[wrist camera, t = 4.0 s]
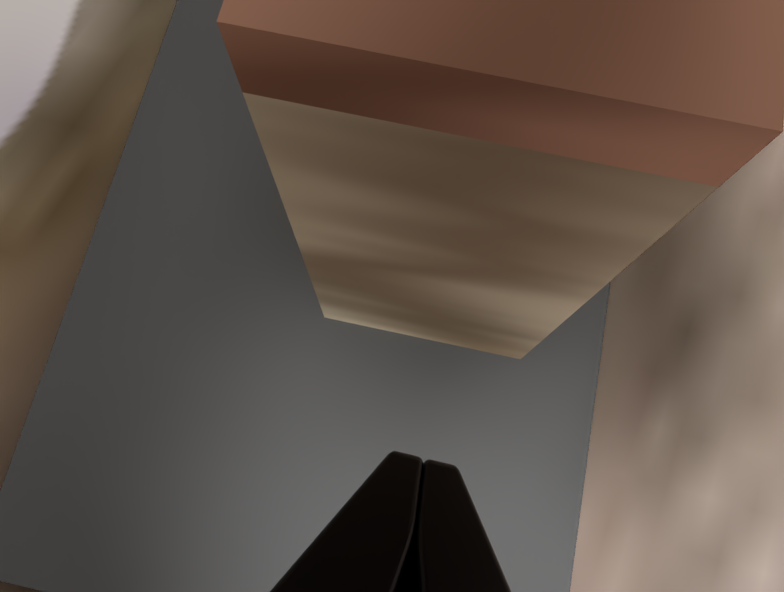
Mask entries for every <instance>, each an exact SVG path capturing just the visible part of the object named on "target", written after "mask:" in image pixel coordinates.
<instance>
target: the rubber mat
mask: <svg viewBox="0 0 784 592" xmlns="http://www.w3.org/2000/svg"><path fill="white" fill-rule="evenodd" d="M223 1H224V0H177V3H176V6H175V9H174V12H173V14H172V17H171V20H170V23H169V25H168V28H167V31H166V34H165V36H164V39H163V42H162V45H161V47H160V50H159V53H158V56H157V59H156V61H155V64H154V67H153V70H152V72H151V75H150V78H149V81H148V83H147V86H146V89H145V92H144V95H143V97H142V100H141V103H140V106H139V108H138V111H137V114H136V117H135V119H134V122H133V125H132V128H131V131H130V133H129V136H128V139H127V142H126V144H125V147H124V150H123V153H122V155H121V158H120V161H119V164H118V167H117V169H116V172H115V175H114V178H113V180H112V183H111V186H110V189H109V191H108V194H107V197H106V200H105V202H104V205H103V208H102V211H101V214H100V216H99V219H98V222H97V225H96V227H95V230H94V233H93V236H92V238H91V241H90V244H89V247H88V250H87V252H86V255H85V258H84V261H83V263H82V266H81V269H80V272H79V274H78V277H77V280H76V283H75V286H74V288H73V291H72V294H71V297H70V299H69V302H68V305H67V308H66V310H65V313H64V316H63V319H62V322H61V324H60V327H59V330H58V333H57V335H56V338H55V341H54V344H53V346H52V349H51V352H50V355H49V357H48V360H47V363H46V366H45V369H44V371H43V374H42V377H41V380H40V382H39V385H38V388H37V391H36V393H35V396H34V399H33V402H32V405H31V407H30V410H29V413H28V416H27V418H26V421H25V424H24V427H23V429H22V432H21V435H20V438H19V441H18V443H17V446H16V449H15V452H14V454H13V457H12V460H11V463H10V465H9V468H8V471H7V474H6V477H5V479H4V482H3V485H2V488H1V490H0V581H1V582H5V583H10V584H14V585H18V586H22V587H26V588H31V589H35V590H39V591H43V592H270V591H271V589H272V588H273V587H274V586H275V585H276V584H277V582H278V581H279V580H280V579H281V578H282V577H283V576H284V574H285V573H286V572H287V571H288V570H289V569H290V567H291V566H292V565H293V564H294V563H295V562H296V560H297V559H298V558H299V557H300V556H301V555H302V553H303V552H304V551H305V550H306V549H307V548H308V546H309V545H310V544H311V543H312V542H313V541H314V539H315V538H316V537H317V536H318V535H319V534H320V533H321V531H322V530H323V529H324V528H325V527H326V526H327V524H328V523H329V522H330V521H331V520H332V519H333V517H334V516H335V515H336V514H337V513H338V512H339V510H340V509H341V508H342V507H343V506H344V505H345V503H346V502H347V501H348V500H349V499H350V498H351V496H352V495H353V494H354V493H355V492H356V491H357V490H358V488H359V487H360V486H361V485H362V484H363V483H364V481H365V480H366V479H367V478H368V477H369V476H370V474H371V473H372V472H373V471H374V470H375V469H376V467H377V466H378V465H379V464H380V463H381V462H382V460H383V459H384V458H385V457H386V456H387V455H388V454H389V453H390V452H392V451H398V452H402V453H406V454H411V455H415V456H418V457H420V458H421V459H422V461H423V463H424V462H425V461H426V460H428V459H431V460H435V461H439V462H443V463H448V464H452V465H455V466H456V467H457V468H458V469H459V471H460V473H461V475H462V478H463V480H464V482H465V485H466V487H467V489H468V492H469V494H470V496H471V499H472V501H473V503H474V506H475V508H476V510H477V513H478V515H479V517H480V520H481V522H482V524H483V527H484V529H485V531H486V534H487V536H488V538H489V541H490V543H491V545H492V548H493V550H494V552H495V555H496V557H497V559H498V562H499V564H500V566H501V569H502V571H503V573H504V576H505V578H506V580H507V583H508V585H509V587H510V590H511V592H570V586H571V578H572V571H573V563H574V556H575V548H576V540H577V533H578V525H579V517H580V510H581V502H582V495H583V487H584V479H585V472H586V464H587V456H588V449H589V441H590V434H591V426H592V418H593V411H594V403H595V395H596V388H597V380H598V373H599V365H600V357H601V350H602V342H603V334H604V327H605V319H606V312H607V304H608V296H609V289H610V282H609V283H608V284H607V285H605V286H604V287H603V288H602V289H601V290H600V291H598V292H597V293H596V294H595V295H594V296H593V297H592V298H590V299H589V300H588V301H587V302H586V303H585V304H584V305H582V306H581V307H580V308H579V309H578V310H577V311H575V312H574V313H573V314H572V315H571V316H570V317H569V318H567V319H566V320H565V321H564V322H563V323H562V324H560V325H559V326H558V327H557V328H556V329H555V330H554V331H552V332H551V333H550V334H549V335H548V336H547V337H546V338H544V339H543V340H542V341H541V342H540V343H539V344H537V345H536V346H535V347H534V348H533V349H532V350H531V351H529V352H528V353H527V354H526V355H525V356H524V357H523V358H521V359H517V358H512V357H507V356H503V355H498V354H493V353H489V352H484V351H479V350H475V349H470V348H465V347H460V346H456V345H451V344H446V343H442V342H437V341H432V340H428V339H423V338H418V337H414V336H409V335H404V334H400V333H395V332H390V331H386V330H381V329H376V328H372V327H367V326H362V325H357V324H353V323H348V322H343V321H339V320H334V319H329V318H325V317H324V315H323V312H322V309H321V306H320V304H319V301H318V298H317V295H316V293H315V290H314V287H313V285H312V282H311V279H310V276H309V274H308V271H307V268H306V265H305V263H304V260H303V257H302V254H301V252H300V249H299V246H298V243H297V241H296V238H295V235H294V232H293V230H292V227H291V224H290V221H289V219H288V216H287V213H286V210H285V208H284V205H283V202H282V200H281V197H280V194H279V191H278V189H277V186H276V183H275V180H274V178H273V175H272V172H271V169H270V167H269V164H268V161H267V158H266V156H265V153H264V150H263V147H262V145H261V142H260V139H259V136H258V134H257V131H256V128H255V125H254V123H253V120H252V117H251V115H250V112H249V109H248V106H247V104H246V101H245V98H244V95H243V93H242V90H241V87H240V84H239V82H238V79H237V76H236V73H235V71H234V68H233V65H232V62H231V60H230V57H229V54H228V51H227V49H226V46H225V43H224V40H223V38H222V35H221V32H220V30H219V27H218V24H217V18H218V15H219V12H220V10H221V7H222V4H223Z"/></svg>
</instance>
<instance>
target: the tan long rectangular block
mask: <svg viewBox="0 0 784 592" xmlns="http://www.w3.org/2000/svg"><path fill="white" fill-rule="evenodd" d="M217 24H218V27H219V30H220V32H221V35H222V38H223V40H224V43H225V46H226V49H227V51H228V54H229V57H230V60H231V62H232V65H233V68H234V71H235V73H236V76H237V79H238V82H239V84H240V87H241V90H242V93H243V95H244V98H245V101H246V104H247V106H248V109H249V112H250V115H251V117H252V120H253V123H254V125H255V128H256V131H257V134H258V136H259V139H260V142H261V145H262V147H263V150H264V153H265V156H266V158H267V161H268V164H269V167H270V169H271V172H272V175H273V178H274V180H275V183H276V186H277V189H278V191H279V194H280V197H281V200H282V202H283V205H284V208H285V210H286V213H287V216H288V219H289V221H290V224H291V227H292V230H293V232H294V235H295V238H296V241H297V243H298V246H299V249H300V252H301V254H302V257H303V260H304V263H305V265H306V268H307V271H308V274H309V276H310V279H311V282H312V285H313V287H314V290H315V293H316V295H317V298H318V301H319V304H320V306H321V309H322V312H323V315H324V317H325V318H329V319H334V320H339V321H343V322H348V323H353V324H357V325H362V326H367V327H372V328H376V329H381V330H386V331H390V332H395V333H400V334H404V335H409V336H414V337H418V338H423V339H428V340H432V341H437V342H442V343H446V344H451V345H456V346H460V347H465V348H470V349H475V350H479V351H484V352H489V353H493V354H498V355H503V356H507V357H512V358H517V359H521V358H523V357H524V356H525V355H526V354H527V353H528V352H529V351H531V350H532V349H533V348H534V347H535V346H536V345H537V344H539V343H540V342H541V341H542V340H543V339H544V338H546V337H547V336H548V335H549V334H550V333H551V332H552V331H554V330H555V329H556V328H557V327H558V326H559V325H560V324H562V323H563V322H564V321H565V320H566V319H567V318H569V317H570V316H571V315H572V314H573V313H574V312H575V311H577V310H578V309H579V308H580V307H581V306H582V305H584V304H585V303H586V302H587V301H588V300H589V299H590V298H592V297H593V296H594V295H595V294H596V293H597V292H598V291H600V290H601V289H602V288H603V287H604V286H605V285H607V284H608V283H609V282H610V281H611V280H612V279H613V278H615V277H616V276H617V275H618V274H619V273H620V272H622V271H623V270H624V269H625V268H626V267H627V266H628V265H630V264H631V263H632V262H633V261H634V260H635V259H636V258H638V257H639V256H640V255H641V254H642V253H643V252H645V251H646V250H647V249H648V248H649V247H650V246H651V245H653V244H654V243H655V242H656V241H657V240H658V239H660V238H661V237H662V236H663V235H664V234H665V233H666V232H668V231H669V230H670V229H671V228H672V227H673V226H674V225H676V224H677V223H678V222H679V221H680V220H681V219H683V218H684V217H685V216H686V215H687V214H688V213H689V212H691V211H692V210H693V209H694V208H695V207H696V206H698V205H699V204H700V203H701V202H702V201H703V200H704V199H706V198H707V197H708V196H709V195H710V194H711V193H712V192H714V191H715V190H716V189H717V188H718V187H719V186H721V185H722V184H723V183H724V182H725V181H726V180H727V179H729V178H730V177H731V176H732V175H733V174H734V173H735V172H737V171H738V170H739V169H740V168H741V167H742V166H744V165H745V164H746V163H747V162H748V161H749V160H750V159H752V158H753V157H754V156H755V155H756V154H757V153H759V152H760V151H761V150H762V149H763V148H764V147H765V146H767V145H768V144H769V143H770V142H771V141H772V140H773V139H775V138H776V137H777V136H778V135H779V134H780V133H782V132H783V119H784V0H224V1H223V4H222V7H221V10H220V12H219V15H218V18H217Z"/></svg>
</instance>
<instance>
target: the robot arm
mask: <svg viewBox="0 0 784 592" xmlns="http://www.w3.org/2000/svg"><path fill="white" fill-rule="evenodd" d="M270 592H511V590H510V587H509V585H508V583H507V580H506V578H505V576H504V573H503V571H502V569H501V566H500V564H499V562H498V559H497V557H496V555H495V552H494V550H493V548H492V545H491V543H490V541H489V538H488V536H487V534H486V531H485V529H484V527H483V524H482V522H481V520H480V517H479V515H478V513H477V510H476V508H475V506H474V503H473V501H472V499H471V496H470V494H469V492H468V489H467V487H466V485H465V482H464V480H463V478H462V475H461V473H460V471H459V469H458V468H457V467H456V466H455V465H452V464H448V463H443V462H439V461H435V460H431V459H428V460H426V461H425V462H424V463H423V461H422V459H421V458H420V457H418V456H415V455H411V454H406V453H402V452H398V451H392V452H390V453H389V454H388V455H387V456H386V457H385V458H384V459H383V460H382V462H381V463H380V464H379V465H378V466H377V467H376V469H375V470H374V471H373V472H372V473H371V474H370V476H369V477H368V478H367V479H366V480H365V481H364V483H363V484H362V485H361V486H360V487H359V488H358V490H357V491H356V492H355V493H354V494H353V495H352V496H351V498H350V499H349V500H348V501H347V502H346V503H345V505H344V506H343V507H342V508H341V509H340V510H339V512H338V513H337V514H336V515H335V516H334V517H333V519H332V520H331V521H330V522H329V523H328V524H327V526H326V527H325V528H324V529H323V530H322V531H321V533H320V534H319V535H318V536H317V537H316V538H315V539H314V541H313V542H312V543H311V544H310V545H309V546H308V548H307V549H306V550H305V551H304V552H303V553H302V555H301V556H300V557H299V558H298V559H297V560H296V562H295V563H294V564H293V565H292V566H291V567H290V569H289V570H288V571H287V572H286V573H285V574H284V576H283V577H282V578H281V579H280V580H279V581H278V582H277V584H276V585H275V586H274V587H273V588H272V589H271V591H270Z"/></svg>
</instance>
